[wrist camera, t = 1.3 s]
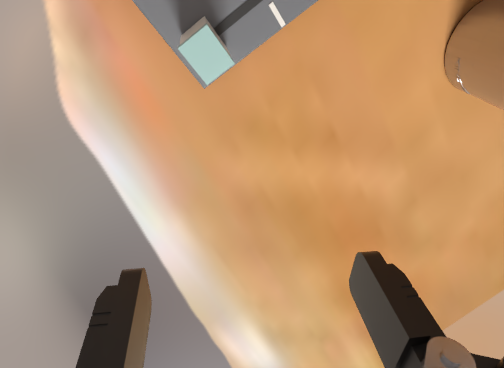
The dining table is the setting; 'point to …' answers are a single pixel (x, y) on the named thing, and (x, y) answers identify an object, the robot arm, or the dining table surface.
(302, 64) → the dining table surface
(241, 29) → the console
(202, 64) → the block
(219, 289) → the dining table surface
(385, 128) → the dining table surface
